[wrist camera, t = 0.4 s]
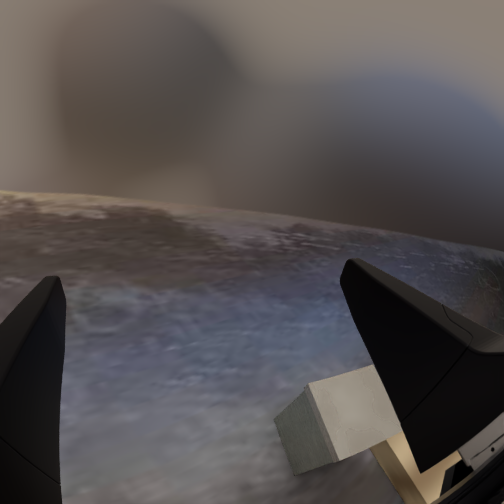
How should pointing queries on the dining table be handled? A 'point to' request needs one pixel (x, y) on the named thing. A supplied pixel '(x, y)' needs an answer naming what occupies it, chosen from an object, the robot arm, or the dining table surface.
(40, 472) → the robot arm
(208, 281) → the dining table surface
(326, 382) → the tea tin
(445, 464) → the oak block
